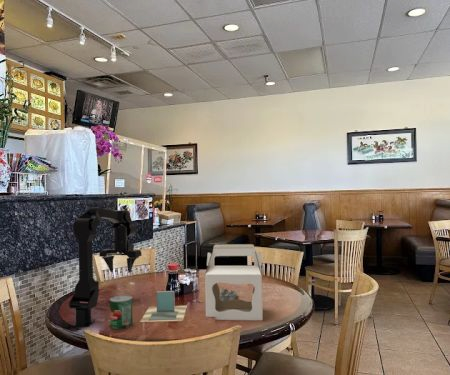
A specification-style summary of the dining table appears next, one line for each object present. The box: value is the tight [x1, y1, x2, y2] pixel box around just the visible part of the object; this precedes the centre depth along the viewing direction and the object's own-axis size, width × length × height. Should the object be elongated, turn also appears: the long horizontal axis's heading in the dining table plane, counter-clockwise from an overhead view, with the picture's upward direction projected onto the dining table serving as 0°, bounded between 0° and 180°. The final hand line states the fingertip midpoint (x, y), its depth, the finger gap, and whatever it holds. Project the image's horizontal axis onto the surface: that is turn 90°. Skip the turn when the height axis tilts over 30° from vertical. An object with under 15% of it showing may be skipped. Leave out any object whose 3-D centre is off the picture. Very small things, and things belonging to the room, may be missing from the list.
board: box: [139, 305, 188, 323], centre depth 140 cm, size 18×16×1 cm
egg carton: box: [219, 287, 238, 301], centre depth 162 cm, size 11×8×4 cm
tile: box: [156, 290, 176, 312], centre depth 142 cm, size 2×7×8 cm, turn 91°
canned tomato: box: [109, 294, 133, 334], centre depth 127 cm, size 8×8×11 cm
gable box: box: [204, 243, 264, 321], centre depth 141 cm, size 22×13×28 cm, turn 84°
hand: (120, 272), depth 159 cm, fingers open, 9 cm apart
